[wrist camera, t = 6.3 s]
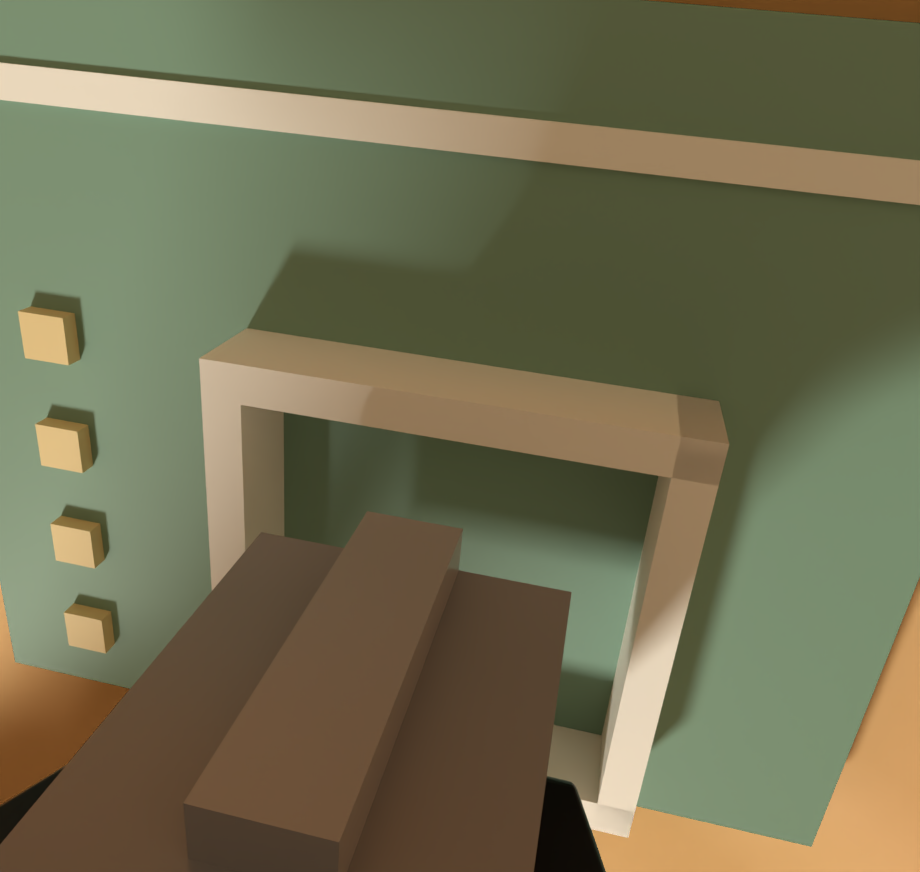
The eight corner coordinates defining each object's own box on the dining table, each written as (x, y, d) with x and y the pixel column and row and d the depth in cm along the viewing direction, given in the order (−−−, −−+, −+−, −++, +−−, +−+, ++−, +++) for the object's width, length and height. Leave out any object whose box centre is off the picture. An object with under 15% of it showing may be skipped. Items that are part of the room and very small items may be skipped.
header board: (53, 626, 18) (-40, 713, 15) (-57, -51, 12) (-228, -83, 10) (799, 793, 15) (829, 926, 13) (1081, 44, 10) (1223, 34, 7)
